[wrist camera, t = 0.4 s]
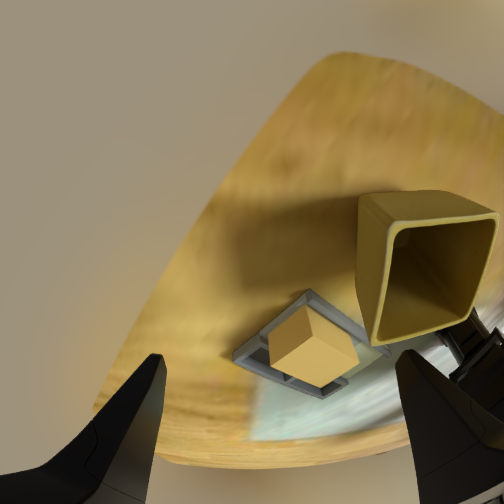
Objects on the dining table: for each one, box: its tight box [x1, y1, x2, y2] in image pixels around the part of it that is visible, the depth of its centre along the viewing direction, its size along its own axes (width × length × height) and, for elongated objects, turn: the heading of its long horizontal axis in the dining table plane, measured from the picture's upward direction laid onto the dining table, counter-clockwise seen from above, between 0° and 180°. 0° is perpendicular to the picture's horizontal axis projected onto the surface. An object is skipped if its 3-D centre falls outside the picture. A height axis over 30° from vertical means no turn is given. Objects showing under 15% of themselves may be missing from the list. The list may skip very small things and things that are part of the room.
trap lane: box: [232, 289, 392, 400], centre depth 28 cm, size 15×11×1 cm
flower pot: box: [355, 190, 499, 346], centre depth 17 cm, size 9×9×9 cm
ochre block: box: [268, 304, 360, 388], centre depth 24 cm, size 7×5×4 cm
